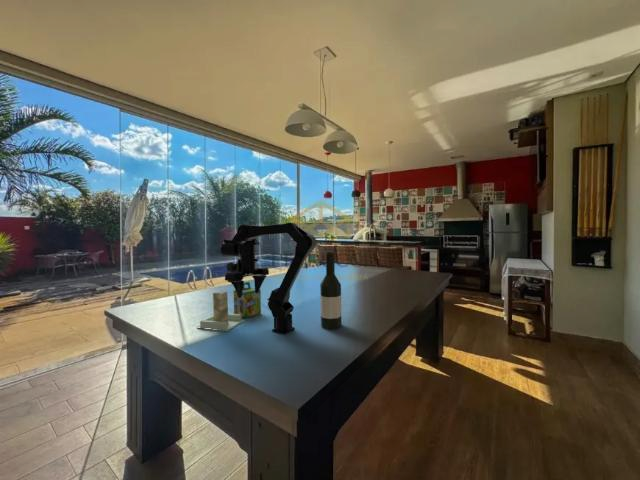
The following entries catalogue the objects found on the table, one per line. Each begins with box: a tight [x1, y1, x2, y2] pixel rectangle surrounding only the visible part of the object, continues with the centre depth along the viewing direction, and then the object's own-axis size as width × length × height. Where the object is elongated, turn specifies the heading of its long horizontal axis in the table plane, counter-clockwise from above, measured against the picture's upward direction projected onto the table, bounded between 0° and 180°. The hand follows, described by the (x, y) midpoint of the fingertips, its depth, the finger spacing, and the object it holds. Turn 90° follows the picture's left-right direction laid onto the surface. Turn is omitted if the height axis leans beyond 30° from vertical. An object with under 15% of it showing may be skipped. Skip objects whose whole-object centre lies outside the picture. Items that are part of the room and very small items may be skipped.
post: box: [212, 290, 229, 323], centre depth 114 cm, size 4×4×13 cm
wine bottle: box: [319, 250, 342, 330], centre depth 110 cm, size 8×8×30 cm
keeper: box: [197, 313, 245, 332], centre depth 114 cm, size 14×12×3 cm
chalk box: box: [233, 281, 262, 319], centre depth 128 cm, size 9×9×15 cm
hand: (248, 295), depth 110 cm, fingers open, 9 cm apart
